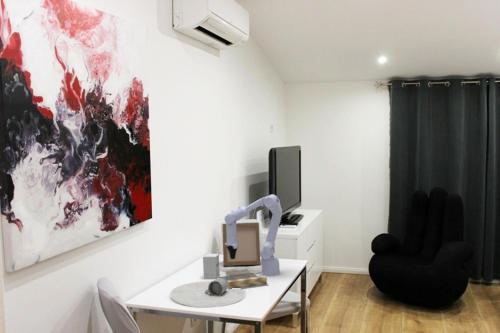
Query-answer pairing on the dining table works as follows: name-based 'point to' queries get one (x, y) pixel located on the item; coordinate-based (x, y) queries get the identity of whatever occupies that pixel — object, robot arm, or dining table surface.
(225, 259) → the photo frame
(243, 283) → the bench fence
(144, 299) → the dining table surface
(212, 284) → the ceramic mug
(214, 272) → the supplement box
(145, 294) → the dining table surface
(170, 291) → the dining table surface
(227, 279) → the bench mat
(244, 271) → the grey flat piece
